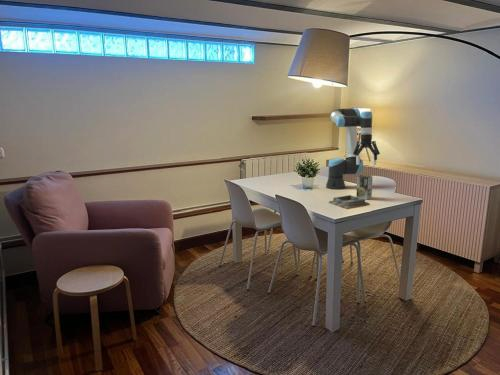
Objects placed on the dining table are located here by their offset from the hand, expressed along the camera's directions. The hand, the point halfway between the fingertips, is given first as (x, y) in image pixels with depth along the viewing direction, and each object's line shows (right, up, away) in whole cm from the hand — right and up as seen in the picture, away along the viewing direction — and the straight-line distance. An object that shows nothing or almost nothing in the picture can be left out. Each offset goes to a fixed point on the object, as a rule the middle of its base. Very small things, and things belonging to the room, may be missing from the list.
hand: (366, 164), depth 266 cm
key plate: (-13, -27, -5) cm, 31 cm away
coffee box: (+1, -24, +8) cm, 25 cm away
